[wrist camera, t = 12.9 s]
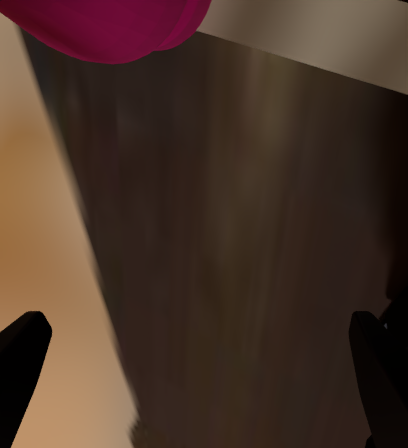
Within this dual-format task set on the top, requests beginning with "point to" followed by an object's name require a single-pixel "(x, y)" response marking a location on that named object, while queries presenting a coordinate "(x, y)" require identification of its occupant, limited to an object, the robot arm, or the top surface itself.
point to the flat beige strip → (322, 34)
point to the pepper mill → (108, 25)
